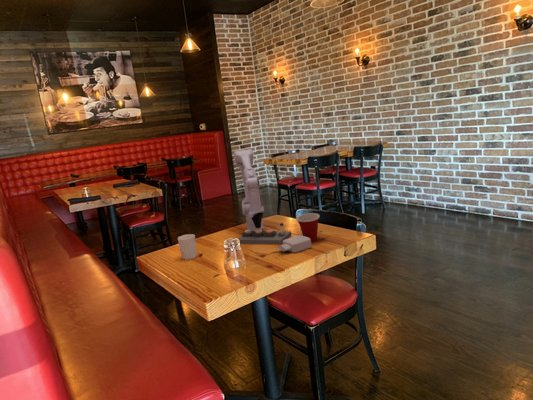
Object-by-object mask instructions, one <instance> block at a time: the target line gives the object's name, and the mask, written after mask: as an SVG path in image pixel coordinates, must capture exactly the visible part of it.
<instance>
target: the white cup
mask: <svg viewBox="0 0 533 400" xmlns="http://www.w3.org/2000/svg"><path fill="white" fill-rule="evenodd" d="M177 241H178V246H179V251H180V254H181V258H182V259H183V260H184V259H185V260H193V259H196V258H197V256H198V254H197V242H196V235H195V234H194V233H193V234H191V233H189V234H182V235H180V236H178V237H177ZM185 260H184V261H185Z"/></svg>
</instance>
